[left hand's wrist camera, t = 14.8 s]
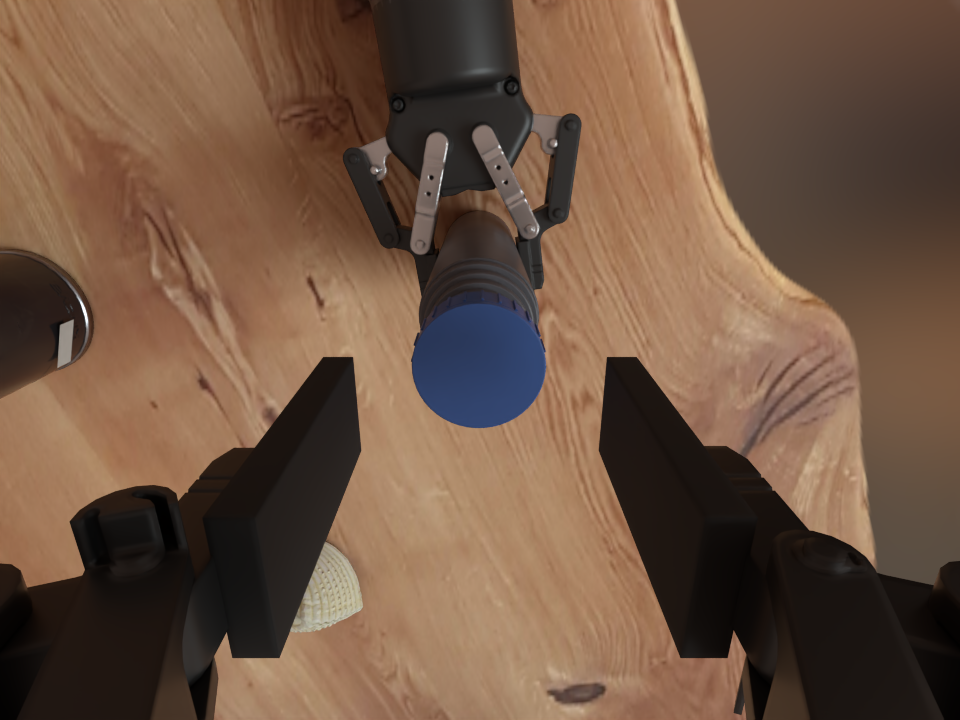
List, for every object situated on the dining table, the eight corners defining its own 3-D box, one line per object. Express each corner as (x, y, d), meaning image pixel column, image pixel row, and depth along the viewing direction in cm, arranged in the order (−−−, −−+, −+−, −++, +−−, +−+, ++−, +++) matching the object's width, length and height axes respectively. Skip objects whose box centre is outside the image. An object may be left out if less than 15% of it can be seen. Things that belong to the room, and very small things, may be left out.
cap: (564, 323, 18) (572, 337, 17) (507, 426, 20) (509, 449, 18) (447, 267, 18) (444, 278, 16) (396, 378, 19) (389, 397, 18)
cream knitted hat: (273, 524, 46) (342, 583, 43) (325, 522, 54) (386, 572, 51) (217, 609, 45) (283, 675, 42) (277, 594, 53) (337, 649, 50)
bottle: (524, 229, 40) (584, 329, 17) (494, 290, 41) (512, 454, 19) (462, 198, 39) (440, 261, 17) (434, 261, 41) (378, 397, 18)
